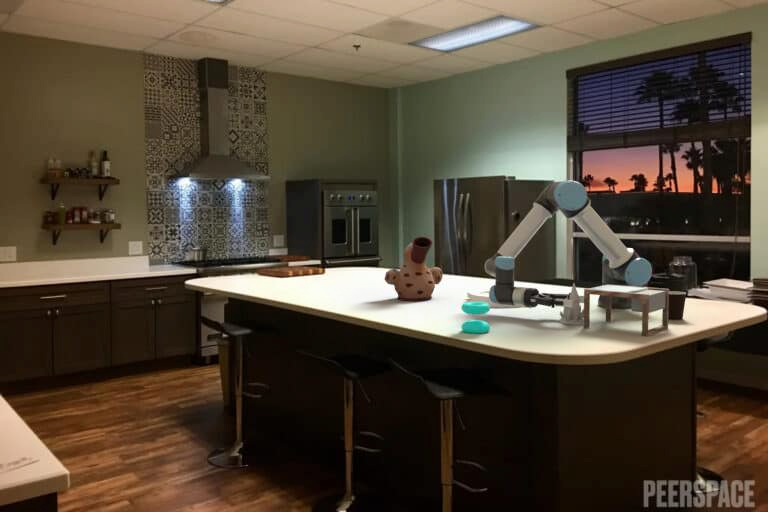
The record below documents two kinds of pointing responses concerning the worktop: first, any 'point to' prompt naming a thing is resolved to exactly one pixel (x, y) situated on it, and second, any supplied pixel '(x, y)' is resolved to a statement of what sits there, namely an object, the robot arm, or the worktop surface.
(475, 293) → the white ring
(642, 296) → the stand
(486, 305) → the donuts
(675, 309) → the coffee mug
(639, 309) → the trapdoor
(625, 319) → the worktop surface
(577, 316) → the crystal
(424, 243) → the vessel
